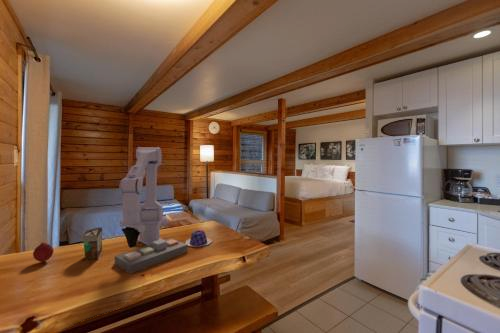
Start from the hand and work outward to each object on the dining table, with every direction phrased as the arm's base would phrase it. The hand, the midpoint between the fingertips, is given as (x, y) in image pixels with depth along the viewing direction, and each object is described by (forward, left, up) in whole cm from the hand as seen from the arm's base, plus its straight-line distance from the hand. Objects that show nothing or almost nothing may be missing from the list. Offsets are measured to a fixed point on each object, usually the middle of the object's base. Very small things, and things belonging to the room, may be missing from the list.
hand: (132, 246), depth 89 cm
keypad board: (0, +8, -7) cm, 11 cm away
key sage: (0, +5, -6) cm, 8 cm away
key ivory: (0, 0, -6) cm, 6 cm away
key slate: (0, +11, -4) cm, 12 cm away
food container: (-20, -7, -7) cm, 22 cm away
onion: (-28, -20, -7) cm, 35 cm away
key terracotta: (0, +16, -6) cm, 17 cm away
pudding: (+2, +30, -7) cm, 31 cm away
